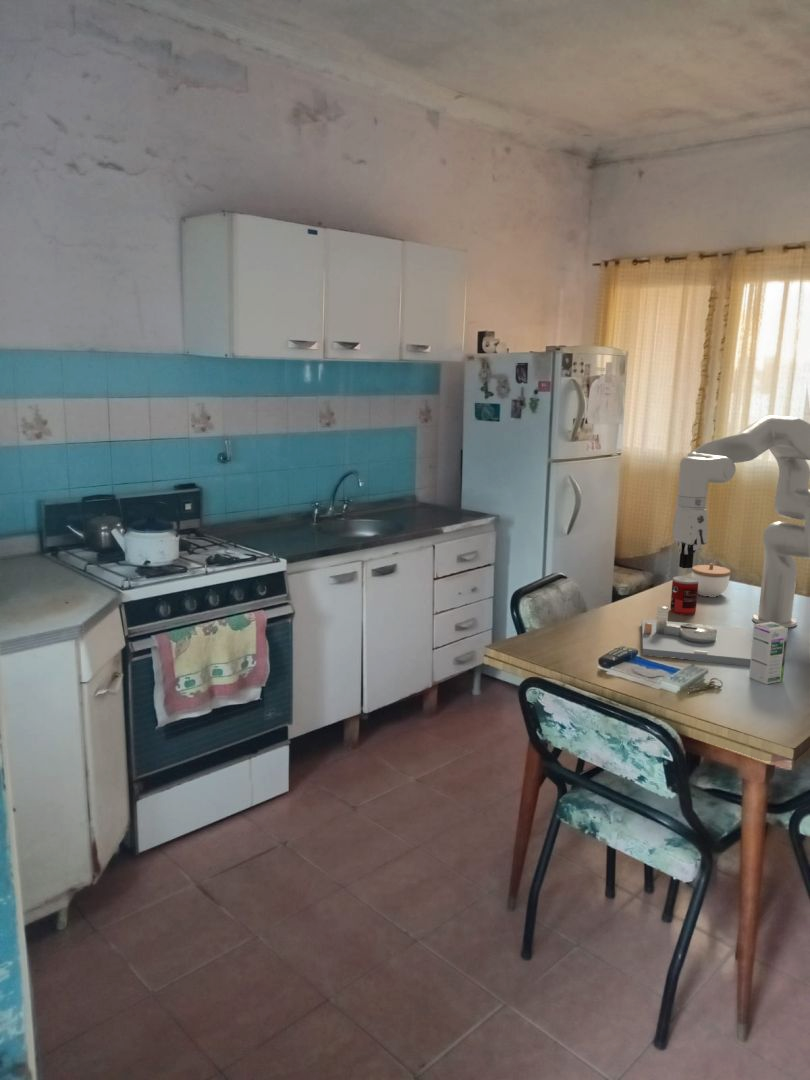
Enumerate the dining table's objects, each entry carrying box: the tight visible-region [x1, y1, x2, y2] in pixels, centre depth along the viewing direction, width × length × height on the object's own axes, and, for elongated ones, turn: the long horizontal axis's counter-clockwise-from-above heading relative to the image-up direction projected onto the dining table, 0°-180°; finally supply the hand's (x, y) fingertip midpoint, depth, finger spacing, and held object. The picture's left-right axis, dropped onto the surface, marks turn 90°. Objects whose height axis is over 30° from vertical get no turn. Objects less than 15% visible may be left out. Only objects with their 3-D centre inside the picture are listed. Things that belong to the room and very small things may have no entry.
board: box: [641, 618, 753, 667], centre depth 234 cm, size 28×30×5 cm
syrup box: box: [749, 621, 789, 685], centre depth 208 cm, size 6×6×14 cm
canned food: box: [670, 575, 698, 616], centre depth 265 cm, size 8×8×11 cm
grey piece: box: [656, 605, 717, 643], centre depth 235 cm, size 16×10×8 cm, turn 64°
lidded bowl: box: [691, 562, 731, 598], centre depth 286 cm, size 13×13×11 cm
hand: (685, 567), depth 228 cm, fingers closed
